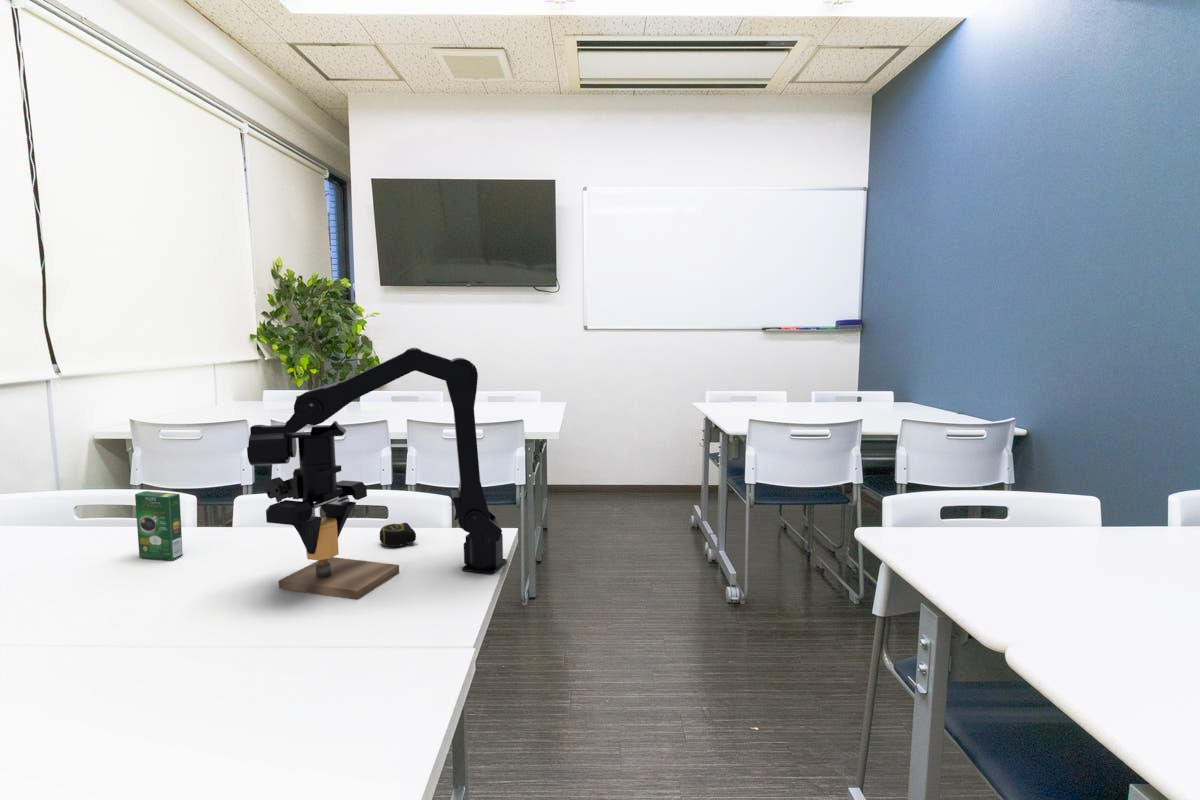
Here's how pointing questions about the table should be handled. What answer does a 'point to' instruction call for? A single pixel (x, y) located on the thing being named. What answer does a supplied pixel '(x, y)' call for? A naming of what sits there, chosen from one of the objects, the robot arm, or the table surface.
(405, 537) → the tape measure
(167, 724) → the table surface
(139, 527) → the coffee box
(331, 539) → the orange wooden cylinder
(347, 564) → the wooden board with peg
